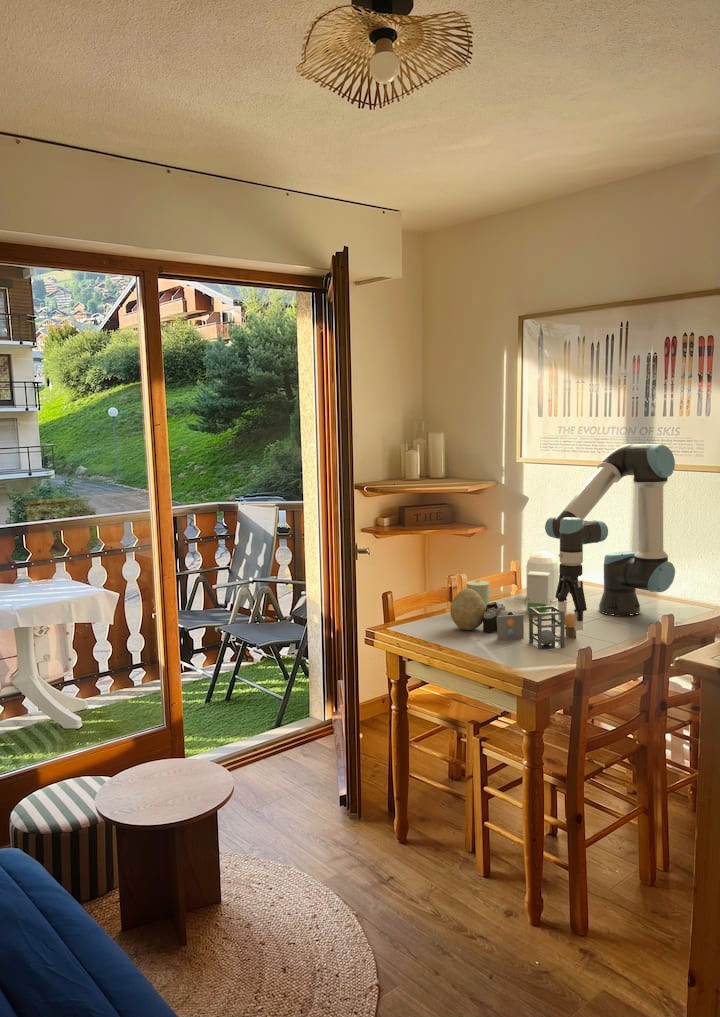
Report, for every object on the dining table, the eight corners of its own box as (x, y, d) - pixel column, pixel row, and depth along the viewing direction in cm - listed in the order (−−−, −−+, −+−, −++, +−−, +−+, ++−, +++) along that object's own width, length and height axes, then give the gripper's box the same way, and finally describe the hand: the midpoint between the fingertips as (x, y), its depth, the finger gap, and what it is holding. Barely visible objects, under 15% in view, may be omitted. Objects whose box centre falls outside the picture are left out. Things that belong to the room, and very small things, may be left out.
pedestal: (574, 637, 269) (574, 625, 268) (580, 641, 264) (580, 628, 263) (560, 638, 268) (560, 626, 268) (566, 642, 263) (566, 629, 263)
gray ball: (550, 642, 261) (550, 627, 261) (556, 646, 256) (556, 631, 256) (536, 643, 261) (536, 628, 260) (542, 647, 256) (542, 632, 255)
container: (522, 595, 332) (522, 549, 329) (552, 593, 333) (552, 547, 331) (532, 603, 318) (532, 554, 316) (564, 601, 320) (564, 553, 318)
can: (489, 608, 312) (489, 579, 310) (491, 614, 303) (490, 584, 301) (466, 608, 313) (465, 579, 311) (467, 614, 304) (466, 584, 302)
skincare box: (526, 613, 302) (525, 574, 300) (529, 609, 308) (528, 570, 307) (548, 615, 299) (547, 575, 297) (550, 610, 305) (550, 571, 303)
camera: (501, 637, 271) (501, 609, 270) (477, 634, 276) (477, 606, 275) (518, 627, 284) (518, 600, 282) (495, 624, 289) (495, 597, 287)
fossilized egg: (449, 625, 289) (448, 585, 287) (483, 624, 289) (483, 584, 287) (452, 634, 276) (451, 593, 275) (488, 633, 276) (487, 592, 274)
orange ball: (574, 625, 268) (574, 611, 268) (580, 629, 263) (580, 614, 263) (560, 626, 268) (560, 612, 267) (566, 630, 263) (566, 615, 262)
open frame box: (554, 642, 264) (554, 605, 262) (564, 650, 255) (564, 611, 253) (529, 644, 262) (529, 607, 261) (538, 651, 254) (538, 613, 252)
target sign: (521, 638, 269) (521, 613, 268) (524, 640, 266) (524, 615, 265) (496, 640, 268) (496, 615, 267) (499, 642, 265) (499, 617, 264)
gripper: (546, 557, 275) (545, 616, 277) (575, 570, 250) (574, 635, 252) (566, 556, 276) (566, 615, 278) (597, 569, 251) (596, 634, 253)
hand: (570, 625), depth 265 cm, fingers open, 13 cm apart
